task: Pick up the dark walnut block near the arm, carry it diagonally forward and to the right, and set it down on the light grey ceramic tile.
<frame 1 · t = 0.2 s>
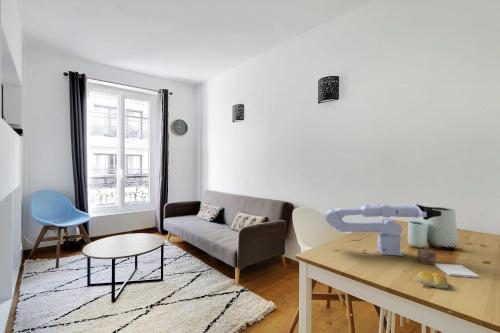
hand: (436, 211, 115), 21 cm above the table, tool horizontal, fingers open, 7 cm apart
walnut block: (426, 262, 108), on the table
bread roll: (432, 284, 88), on the table
grey tile: (455, 271, 98), on the table
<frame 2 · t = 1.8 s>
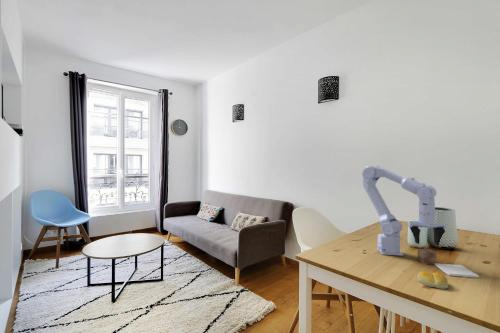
hand: (426, 243, 108), 8 cm above the table, tool pointing down, fingers open, 7 cm apart
nothing on the table moved.
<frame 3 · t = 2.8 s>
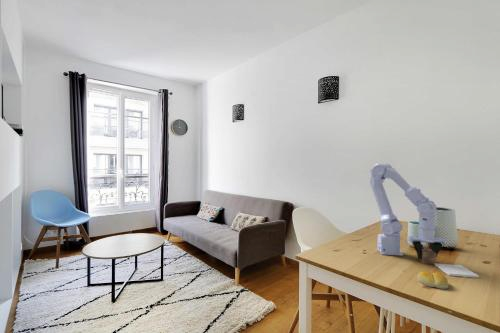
hand: (426, 258, 108), 1 cm above the table, tool pointing down, fingers closed on walnut block, 5 cm apart
walnut block: (426, 261, 108), on the table, touching gripper
everything else where it was.
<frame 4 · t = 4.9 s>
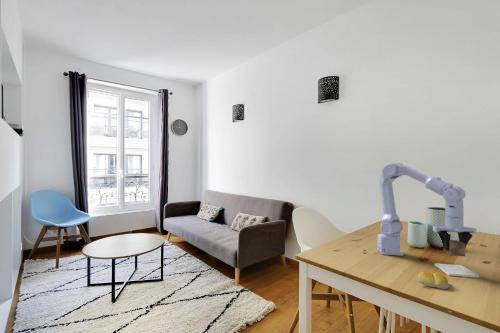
hand: (454, 249, 99), 8 cm above the table, tool pointing down, fingers closed on walnut block, 5 cm apart
walnut block: (454, 253, 99), point 7 cm above the table, touching gripper
everything else where it was.
when the fingers open (4 cm above the table, at t = 6.8 s): walnut block drops 1 cm, resting on grey tile.
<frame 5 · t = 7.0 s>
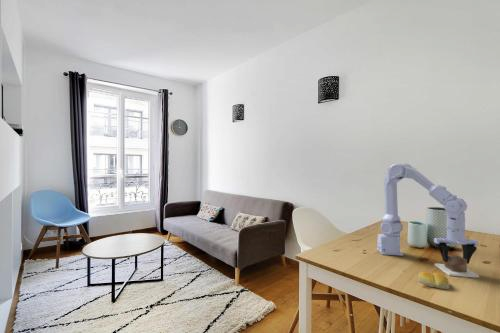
hand: (455, 262, 98), 4 cm above the table, tool pointing down, fingers open, 7 cm apart
walnut block: (455, 269, 98), point 1 cm above the table, touching grey tile
everything else where it was.
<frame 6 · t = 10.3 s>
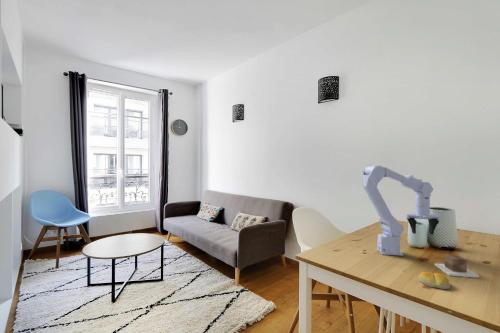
hand: (422, 233, 120), 9 cm above the table, tool pointing down, fingers open, 7 cm apart
nothing on the table moved.
at the end: walnut block inside the target area on the grey tile (0.0 cm from its centre), point 0.8 cm above the grey tile's base; walnut block tilted 0°; the gripper is holding nothing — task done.
